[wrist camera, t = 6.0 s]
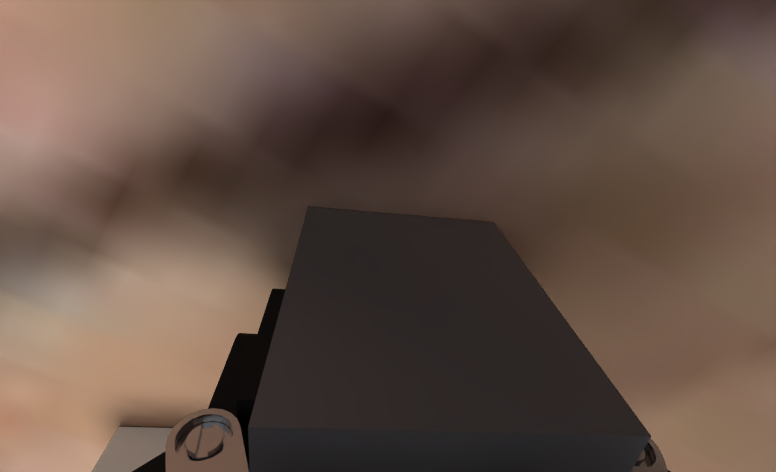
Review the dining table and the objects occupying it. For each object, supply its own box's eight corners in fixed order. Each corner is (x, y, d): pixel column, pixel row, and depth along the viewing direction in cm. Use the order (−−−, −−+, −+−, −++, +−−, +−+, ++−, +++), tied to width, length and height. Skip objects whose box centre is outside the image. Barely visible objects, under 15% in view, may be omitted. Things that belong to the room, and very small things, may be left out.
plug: (494, 222, 13) (651, 436, 6) (458, 362, 16) (540, 627, 9) (308, 206, 13) (248, 426, 6) (302, 355, 15) (255, 636, 8)
